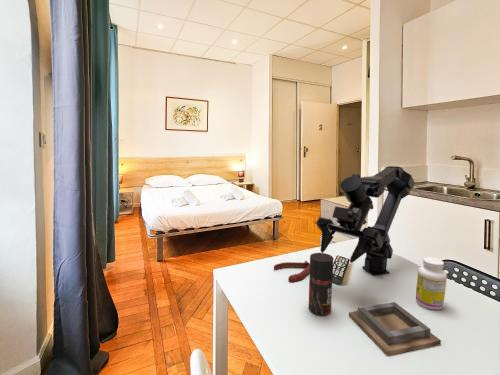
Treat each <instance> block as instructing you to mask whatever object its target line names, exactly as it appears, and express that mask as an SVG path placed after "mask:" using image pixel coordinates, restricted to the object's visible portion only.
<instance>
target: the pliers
mask: <svg viewBox="0 0 500 375" xmlns="http://www.w3.org/2000/svg"><path fill="white" fill-rule="evenodd" d="M279 269H280V270H284V269H301V270H302V269H303V270H302V271H300V272H299V273H294V274H291V275H289V276H288V279H287V280H288V282H289V283H297V282H300V281H302V280H304V279H306V278H307V277H308V275H310V261H307V260H305V261H304V262H293V261H291V262H289V261H288V262H287V261H286V262H280V263H276V264H275V265H273V270H274V271H275V270H276V271H279Z"/></svg>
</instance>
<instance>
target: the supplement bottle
mask: <svg viewBox="0 0 500 375" xmlns="http://www.w3.org/2000/svg"><path fill="white" fill-rule="evenodd" d="M422 264H423V265H422V266H420V267H419V268H418V271H417V280H416V287H415V289H416V290H415V301H416V303H417V304H418V305H419V306H421V307H423V308H426V309H428V310H432V311H433V310H434V311H435V310H436V311H438V310H442V309H443V308H444V305H445V297H446V289H447V288H446V287H447V280H448V279H447V278H448V274H447V272H446V271H445V270H444V266H445V262H444V260H441V259H439V258H435V257H430V256H429V257H428V256H427V257H424V258H423V260H422Z"/></svg>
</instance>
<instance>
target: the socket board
mask: <svg viewBox="0 0 500 375" xmlns="http://www.w3.org/2000/svg"><path fill="white" fill-rule="evenodd" d="M348 317H349V318H350V319H351V320H352V321H353V322H354V323H355V325H357V326H358V327H359V328H360V329H361V330H362V332H364V334H365V335H366V336H368V338H369V339H370V340H371V341H372V342H373V343H374V344H375V346H377V347H378V348H379V349H380V350H381V351H382V352H383V353H384V354H385V355H386V357H387V356H392V355H396V354H397V355H399V354H403V353H406V352H411V351H416V350H420V349H426V348H430V347H435V346H440V345H441V344H442V340H441V339H440V338H438V336H436V335H435V334H433V333H432V332H431V330H432V329H431V327H429V326H427V325H426V324H425V323H423V322H422V321H420V320H419V319H418V318H416V317H415V316H414V315H413V314H411V313H410V312H409V311H407V309H405V308H403V307H402V306H401V305H399V304H398V303H397V302H395V301H393V302H386V303H380V304H375V305H374V304H373V305H367V306H361V307H358V308H357V311H349V312H348Z"/></svg>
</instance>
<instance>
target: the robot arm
mask: <svg viewBox="0 0 500 375" xmlns="http://www.w3.org/2000/svg"><path fill="white" fill-rule="evenodd" d="M414 185H415V180H414V178H413V176H412V174H410V173H408V172H407V171H405V170H404V168H403V167H401V166H396V165H395V166H393V165H388V166H386V167H385V168H384V169H382V170H381V171H379V172H378V173H376V174H374V175H373V176H372V175H370V176H362V177H361V176H360V174H359V173H358V174H357V173H352V175H351V176H349V177H346V178H345V179H344V180H341V182H340V186H339V188H340V190H341V191H342V193H343V195H344V196H345V198H346V200H347V202H349V203H350V204H348V205H349V206H348V208H347V207H341V206H334V210H333V214H332V218H333V219H334V218H335V219H336V223H337V224H339V225H337V224H334V222H333V220H332V219H330V218H327V217H326V218H325V217H319V218H318V219H317V220H316V222H315V224H316V226H317V227H318V228H319V230H320V231H321V245H320V253H325V251H326V250H327V248H328V246H329V245H330V243H331V242H332V240H333V239H334V236H333V235H335V234H336V233H341V234H343V235H347V236H351V237H355V238H357V239H358V241H357V244H356V246H355V247H354V250H353V252H352V254H351V256H350V259H349V262H350V263H354V262H356V261H357V260H358V259H359V258H361V257H362V256H363V255H365V257H364V265H363V266H362V269H364V270H365V271H366V272H368V273H369V274H371V275H372V276H379V275H380V276H381V275H389V274H390V271H389V270H388V269H387V268H388V266H387V265H388V264H387V263H388V259H389V260H390V259H392V257H393V252H394V250H393V247H392V245H391V244H390V242H391V238H390V236H389V231H390V229H391V225H393V224H392V223H393V221H394V219H395V216H396V213H397V211H398V208H399V206H400V203H401V201H402V200H403V199H404V198H406V197H407V196H409V194H410V192H411V191H412V189H413V188H414ZM385 187H386V189H387V196H386V198H385V200H384V202H383V204H382V207H381V209H380V211H379V214H378V216H377V218H376V220H375V223H374V225H373V226H367V227H364V228H363V229H362V227H363V225H366V224H367V221H366V218H367V217H368V214H369V212H370V210H374V204H373V201H372V199H371V198H374V199H375V198H376V199H377V198H379V197H381V196H382V194H383V193H384V192H385ZM361 229H362V230H361Z"/></svg>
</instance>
